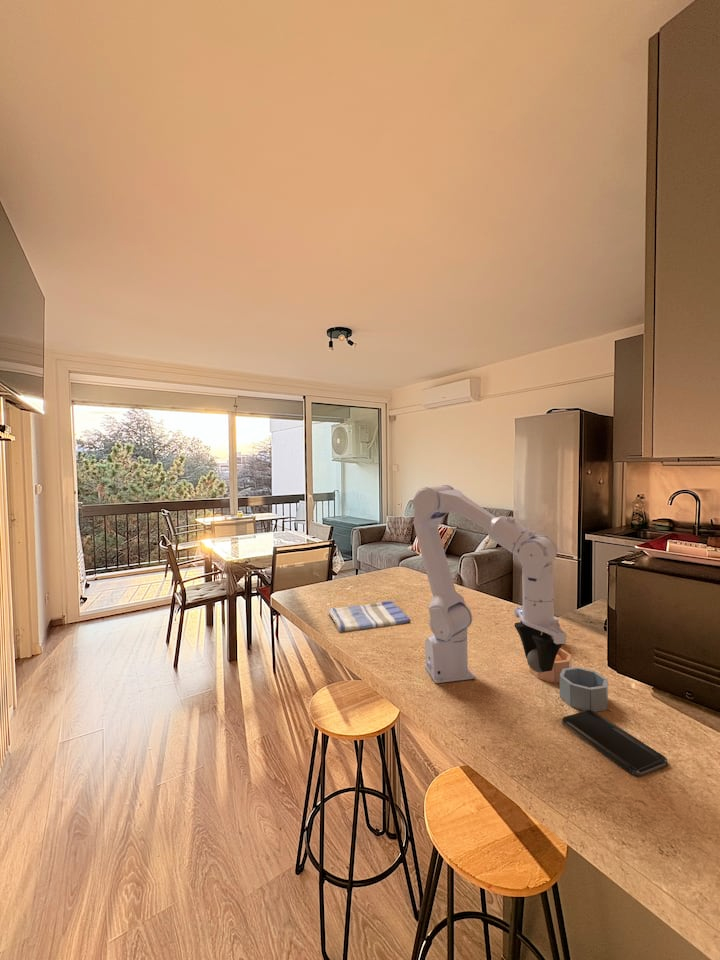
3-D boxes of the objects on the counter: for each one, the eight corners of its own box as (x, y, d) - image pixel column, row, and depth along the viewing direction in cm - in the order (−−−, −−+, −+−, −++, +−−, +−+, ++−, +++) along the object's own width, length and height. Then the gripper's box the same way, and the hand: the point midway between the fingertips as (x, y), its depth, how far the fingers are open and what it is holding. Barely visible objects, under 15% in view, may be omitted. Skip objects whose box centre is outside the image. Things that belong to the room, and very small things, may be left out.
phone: (635, 774, 63) (559, 718, 77) (635, 781, 63) (559, 724, 78) (671, 760, 66) (591, 708, 80) (671, 767, 66) (591, 714, 80)
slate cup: (579, 713, 80) (579, 691, 80) (552, 690, 88) (552, 669, 88) (617, 708, 81) (617, 686, 81) (587, 686, 89) (587, 665, 89)
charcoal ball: (535, 678, 80) (534, 655, 80) (522, 667, 85) (522, 646, 84) (555, 675, 81) (555, 653, 81) (542, 664, 85) (542, 643, 85)
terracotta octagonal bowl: (544, 684, 91) (544, 664, 90) (523, 666, 99) (523, 647, 99) (579, 679, 92) (579, 660, 92) (555, 662, 100) (555, 644, 100)
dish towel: (326, 614, 139) (326, 606, 139) (393, 606, 144) (393, 598, 144) (336, 634, 122) (336, 625, 122) (411, 625, 128) (411, 616, 127)
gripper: (581, 608, 76) (581, 680, 76) (535, 585, 90) (536, 646, 90) (546, 611, 75) (547, 684, 75) (505, 588, 89) (506, 649, 89)
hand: (538, 664), depth 83 cm, fingers closed on charcoal ball, 4 cm apart
